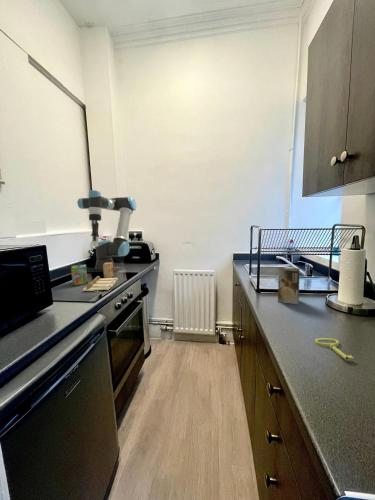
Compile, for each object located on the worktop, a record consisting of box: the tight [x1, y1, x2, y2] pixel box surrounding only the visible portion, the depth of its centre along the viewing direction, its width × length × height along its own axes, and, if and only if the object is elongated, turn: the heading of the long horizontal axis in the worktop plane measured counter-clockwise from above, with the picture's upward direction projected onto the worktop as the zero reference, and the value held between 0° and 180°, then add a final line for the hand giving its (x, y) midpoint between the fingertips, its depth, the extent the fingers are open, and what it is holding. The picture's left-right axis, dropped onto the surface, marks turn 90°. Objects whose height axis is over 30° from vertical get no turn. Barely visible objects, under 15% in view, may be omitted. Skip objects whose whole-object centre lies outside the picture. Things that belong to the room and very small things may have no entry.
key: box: [314, 337, 355, 361], centre depth 71 cm, size 7×12×2 cm, turn 18°
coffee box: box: [277, 266, 301, 305], centre depth 108 cm, size 9×6×16 cm
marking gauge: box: [102, 262, 120, 278], centre depth 160 cm, size 6×10×10 cm, turn 94°
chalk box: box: [70, 260, 89, 287], centre depth 148 cm, size 9×9×15 cm
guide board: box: [82, 275, 119, 292], centre depth 142 cm, size 22×15×4 cm
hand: (95, 246), depth 150 cm, fingers open, 13 cm apart
